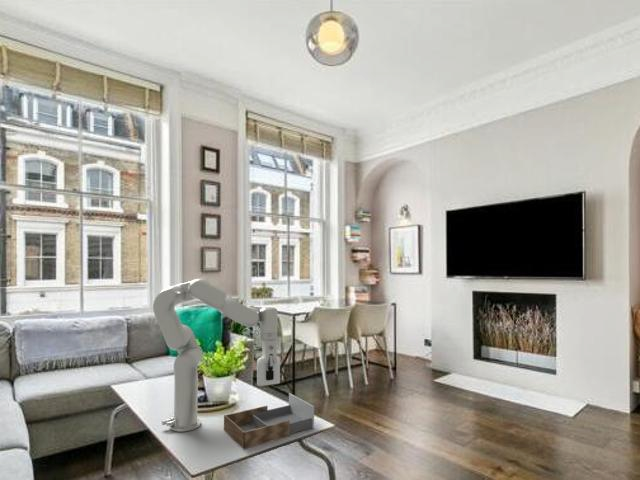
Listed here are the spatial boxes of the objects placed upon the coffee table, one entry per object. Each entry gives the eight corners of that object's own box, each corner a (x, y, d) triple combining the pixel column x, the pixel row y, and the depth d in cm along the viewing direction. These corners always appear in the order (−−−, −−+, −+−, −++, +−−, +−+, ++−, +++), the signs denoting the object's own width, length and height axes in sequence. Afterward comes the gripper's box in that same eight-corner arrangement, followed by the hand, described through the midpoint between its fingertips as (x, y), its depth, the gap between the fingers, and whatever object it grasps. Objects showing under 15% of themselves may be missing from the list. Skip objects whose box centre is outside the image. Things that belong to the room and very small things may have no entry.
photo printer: (258, 387, 172) (258, 357, 173) (255, 384, 176) (255, 355, 177) (281, 384, 176) (281, 355, 177) (278, 381, 180) (278, 353, 181)
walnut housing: (243, 449, 152) (244, 432, 152) (223, 430, 168) (224, 415, 168) (289, 435, 163) (289, 420, 163) (266, 419, 180) (266, 405, 180)
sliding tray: (272, 440, 159) (272, 416, 159) (250, 422, 175) (250, 401, 175) (314, 428, 170) (314, 406, 170) (289, 412, 186) (290, 393, 187)
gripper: (281, 339, 170) (281, 383, 169) (273, 332, 186) (273, 372, 185) (263, 340, 168) (263, 384, 167) (257, 333, 184) (256, 373, 183)
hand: (268, 377), depth 176 cm, fingers closed on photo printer, 4 cm apart
